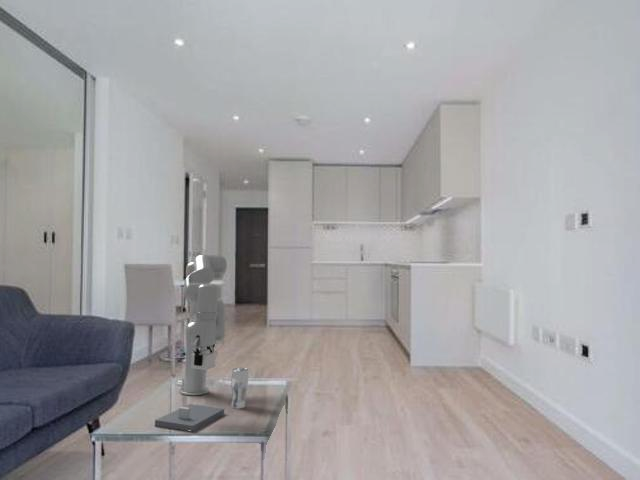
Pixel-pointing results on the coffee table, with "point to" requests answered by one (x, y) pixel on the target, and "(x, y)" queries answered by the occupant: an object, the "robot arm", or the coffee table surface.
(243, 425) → the coffee table surface
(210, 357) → the knob
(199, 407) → the flat gray board
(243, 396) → the beer glass
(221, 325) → the robot arm
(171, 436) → the coffee table surface
